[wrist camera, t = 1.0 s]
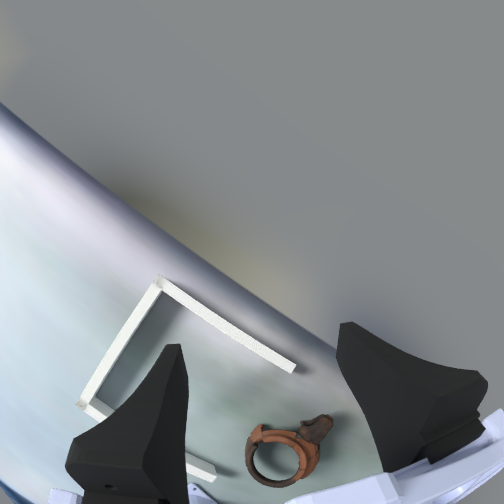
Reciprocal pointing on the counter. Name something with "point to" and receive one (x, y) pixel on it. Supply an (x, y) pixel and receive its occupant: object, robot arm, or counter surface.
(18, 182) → the counter surface
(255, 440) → the pottery mug
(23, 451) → the counter surface
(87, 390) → the u-shaped white bracket
